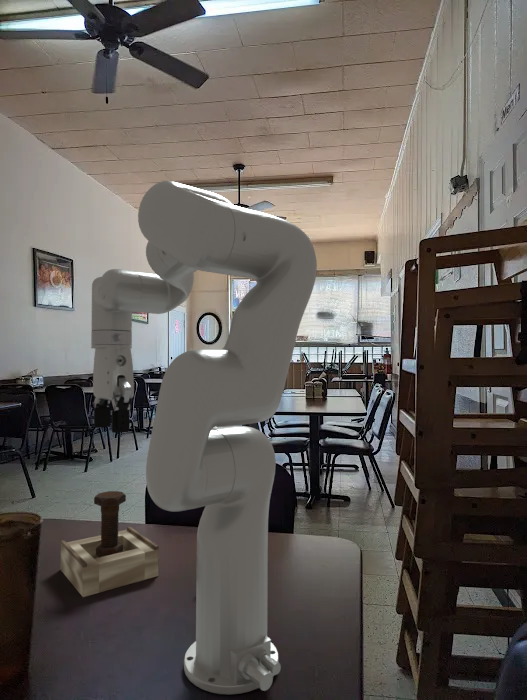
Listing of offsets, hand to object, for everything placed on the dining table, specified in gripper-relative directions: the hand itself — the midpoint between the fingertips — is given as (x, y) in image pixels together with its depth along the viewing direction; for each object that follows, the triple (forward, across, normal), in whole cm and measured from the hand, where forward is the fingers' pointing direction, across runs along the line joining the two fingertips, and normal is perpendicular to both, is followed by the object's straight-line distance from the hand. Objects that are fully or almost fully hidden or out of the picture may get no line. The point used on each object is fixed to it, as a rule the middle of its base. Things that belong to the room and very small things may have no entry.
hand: (111, 429), depth 94 cm
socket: (+27, +1, 0) cm, 27 cm away
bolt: (+28, 0, 0) cm, 28 cm away
